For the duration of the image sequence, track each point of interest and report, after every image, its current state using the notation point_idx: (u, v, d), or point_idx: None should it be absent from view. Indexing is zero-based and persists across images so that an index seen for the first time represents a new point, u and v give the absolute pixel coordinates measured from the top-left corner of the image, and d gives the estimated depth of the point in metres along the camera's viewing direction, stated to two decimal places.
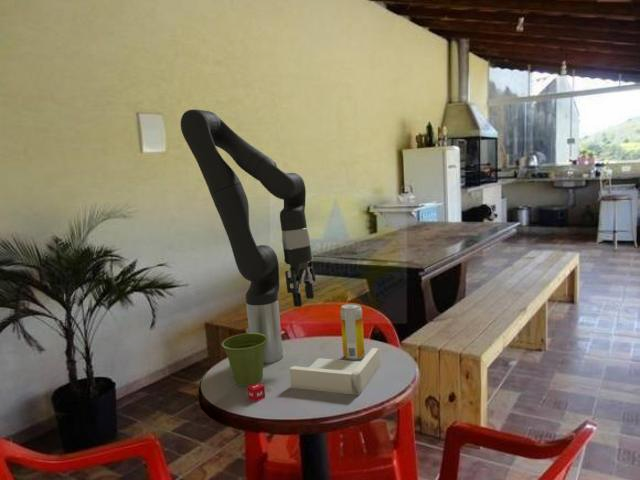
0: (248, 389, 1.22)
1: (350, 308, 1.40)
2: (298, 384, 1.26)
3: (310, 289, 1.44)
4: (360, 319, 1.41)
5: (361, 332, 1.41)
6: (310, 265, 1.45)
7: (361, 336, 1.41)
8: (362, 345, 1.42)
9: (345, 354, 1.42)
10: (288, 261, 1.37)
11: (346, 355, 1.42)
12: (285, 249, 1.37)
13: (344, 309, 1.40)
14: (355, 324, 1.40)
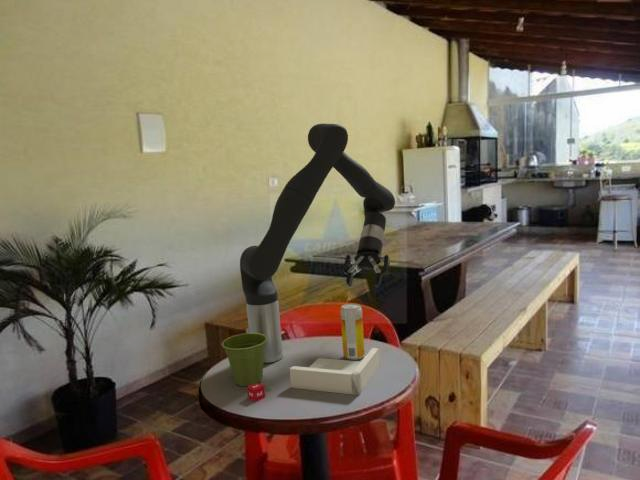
0: (248, 389, 1.22)
1: (350, 308, 1.40)
2: (298, 384, 1.26)
3: (352, 278, 1.55)
4: (360, 319, 1.41)
5: (361, 332, 1.41)
6: None
7: (361, 336, 1.41)
8: (362, 345, 1.42)
9: (345, 354, 1.42)
10: (378, 249, 1.56)
11: (346, 355, 1.42)
12: (379, 239, 1.58)
13: (344, 309, 1.40)
14: (355, 324, 1.40)
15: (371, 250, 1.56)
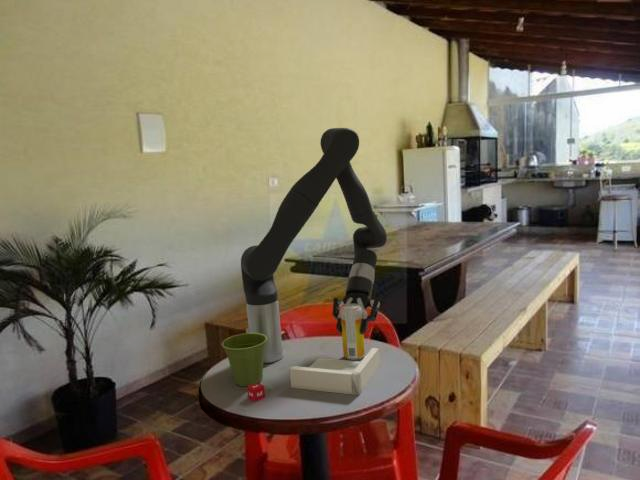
0: (248, 389, 1.22)
1: (350, 308, 1.40)
2: (298, 384, 1.26)
3: None
4: (360, 319, 1.41)
5: None
6: None
7: (361, 336, 1.41)
8: (362, 345, 1.42)
9: (345, 354, 1.42)
10: (368, 290, 1.46)
11: (346, 355, 1.42)
12: (369, 279, 1.48)
13: (344, 309, 1.40)
14: (355, 324, 1.40)
15: (360, 292, 1.46)
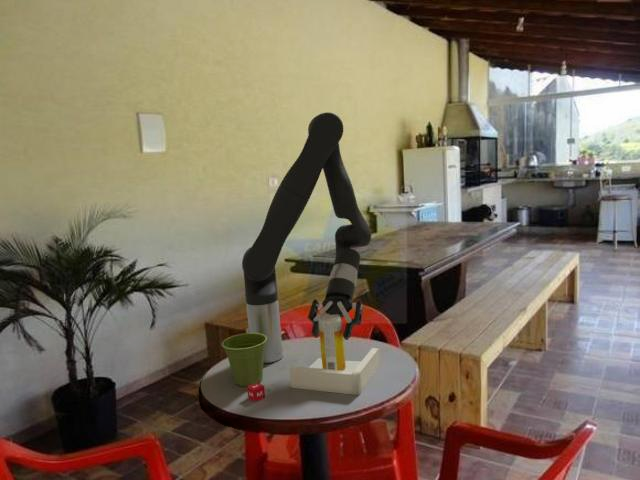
0: (248, 389, 1.22)
1: (329, 319, 1.29)
2: (298, 384, 1.26)
3: None
4: (340, 331, 1.29)
5: (341, 345, 1.30)
6: None
7: (341, 349, 1.30)
8: (342, 359, 1.30)
9: None
10: (350, 293, 1.34)
11: None
12: (350, 281, 1.36)
13: (322, 320, 1.29)
14: (334, 336, 1.28)
15: (341, 295, 1.34)
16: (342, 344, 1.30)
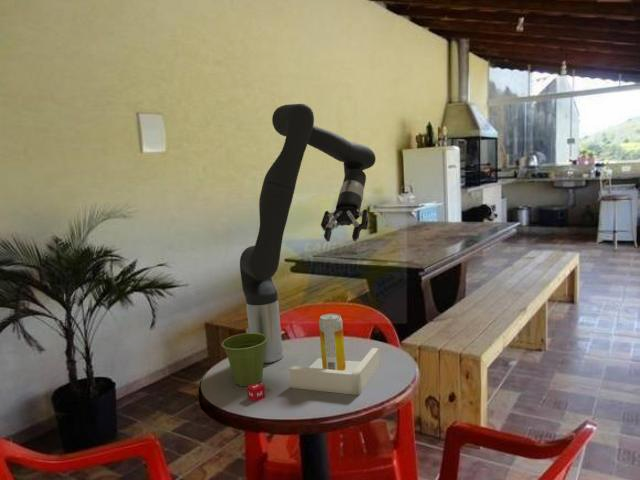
0: (248, 389, 1.22)
1: (329, 319, 1.29)
2: (298, 384, 1.26)
3: (330, 233, 1.53)
4: (340, 331, 1.29)
5: (341, 345, 1.30)
6: None
7: (341, 349, 1.30)
8: (343, 359, 1.30)
9: None
10: (357, 204, 1.54)
11: None
12: (358, 194, 1.55)
13: (323, 320, 1.29)
14: (335, 336, 1.28)
15: (350, 205, 1.54)
16: (342, 344, 1.30)
